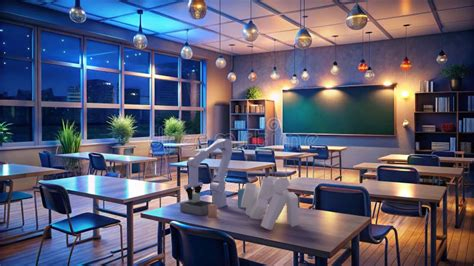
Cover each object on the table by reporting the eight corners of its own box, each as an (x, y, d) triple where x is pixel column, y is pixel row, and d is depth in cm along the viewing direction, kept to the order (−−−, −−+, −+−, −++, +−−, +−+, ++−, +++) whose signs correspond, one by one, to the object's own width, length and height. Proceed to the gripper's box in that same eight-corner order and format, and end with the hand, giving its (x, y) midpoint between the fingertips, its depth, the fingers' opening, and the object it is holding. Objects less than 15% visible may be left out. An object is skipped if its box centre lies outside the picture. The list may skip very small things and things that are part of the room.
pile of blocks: (225, 232, 203) (226, 180, 185) (251, 201, 225) (255, 153, 208) (283, 260, 188) (291, 207, 170) (305, 224, 210) (314, 174, 193)
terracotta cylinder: (212, 215, 218) (212, 203, 218) (218, 216, 215) (218, 204, 215) (206, 216, 214) (206, 204, 214) (212, 218, 211) (212, 206, 211)
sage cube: (194, 200, 233) (194, 192, 233) (199, 201, 230) (199, 193, 230) (188, 201, 229) (188, 193, 229) (194, 202, 226) (194, 194, 226)
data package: (256, 209, 233) (256, 190, 233) (252, 210, 230) (252, 191, 229) (242, 206, 241) (242, 187, 240) (237, 207, 237) (237, 188, 237)
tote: (196, 207, 238) (196, 199, 238) (216, 211, 227) (216, 203, 227) (180, 211, 227) (180, 203, 227) (200, 215, 216) (200, 207, 216)
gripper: (189, 179, 221) (189, 201, 221) (206, 176, 232) (206, 197, 233) (181, 177, 225) (181, 200, 226) (198, 175, 237) (198, 196, 237)
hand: (193, 198), depth 230 cm, fingers closed on sage cube, 5 cm apart
